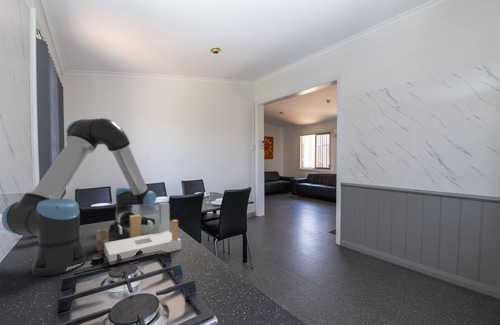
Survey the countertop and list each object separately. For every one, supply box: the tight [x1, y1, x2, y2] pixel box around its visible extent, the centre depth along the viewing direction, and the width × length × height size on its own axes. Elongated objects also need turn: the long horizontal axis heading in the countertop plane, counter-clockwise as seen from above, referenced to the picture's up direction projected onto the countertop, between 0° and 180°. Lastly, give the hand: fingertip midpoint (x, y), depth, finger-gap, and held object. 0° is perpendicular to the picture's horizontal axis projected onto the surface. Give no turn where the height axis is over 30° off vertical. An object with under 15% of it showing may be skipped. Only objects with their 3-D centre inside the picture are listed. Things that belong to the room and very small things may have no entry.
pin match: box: [129, 213, 142, 238], centre depth 112 cm, size 4×4×12 cm
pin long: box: [158, 202, 171, 233], centre depth 120 cm, size 4×4×16 cm
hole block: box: [103, 219, 182, 261], centre depth 101 cm, size 26×16×12 cm, turn 127°
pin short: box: [95, 227, 110, 252], centre depth 104 cm, size 4×4×8 cm
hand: (137, 228), depth 109 cm, fingers open, 12 cm apart
